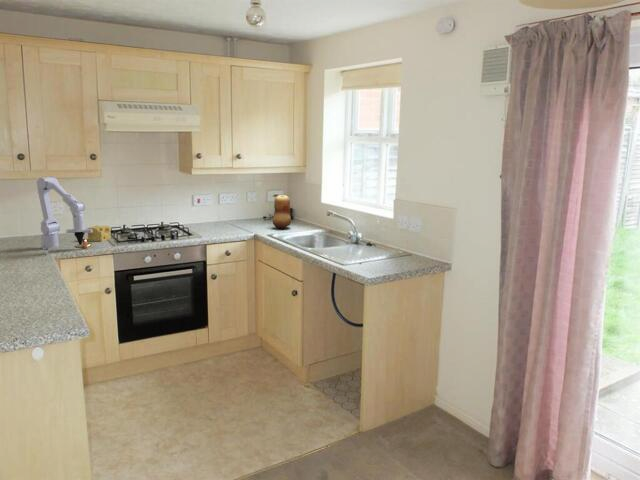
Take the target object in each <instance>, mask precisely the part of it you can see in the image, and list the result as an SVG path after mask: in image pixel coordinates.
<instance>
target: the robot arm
mask: <svg viewBox="0 0 640 480" xmlns="http://www.w3.org/2000/svg"><path fill="white" fill-rule="evenodd" d="M36 186H37V195H38V198H39V203H40V207H41V212H42V217H43V220H42V221H41V222H40V231H41V235H40V236H41V247H42V251H43V250H49V248H56V247H59V246H60V245H59V235H58V234H59V231H60V230H61V225H60V224H59V222H58V220H57V219H56V218H55V217H54V214H53V209H52V204H51V200H50V199H51V198H50V195H49V194H50V193H49V192H50V191H51V190H53V191H54V192H56V194H58V195H59V196H61V197H62V201H63V202H64V203H65V204H66V205H67V206H68V207H69V211H70V212H71V215H72V221H73V228H70V229H66V231H65V232H66V234H73V235H74V236H75V238H76V239H77V242H78V244H79V245H81V244H82V243H83V239H84V236H85V233H87V234H88V233H92V229H87V228H85V221H84V211H85V208H86V207H85V206H86V205H85V204H84V203H83V202H82V201H79V200H77V198H75V197H74V195H73V194H71V193H67V191H66V190H65V189H64V187H63V186H61V185H60V184H59V180H58V179H57V178H56V177H55V176H54V175H53V176H47V177H46V176H45V177H39V178H38V179H37V180H36Z"/></svg>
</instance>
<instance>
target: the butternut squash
mask: <svg viewBox="0 0 640 480" xmlns="http://www.w3.org/2000/svg"><path fill="white" fill-rule="evenodd" d="M290 203H291V199H290V197H288V195H285V194H284V195H281V194H280V195H277V196H276V197H275V199H274V203H273V204H274V207H273V208H274V214H273V217H272V224H273V226H274V227H275V228H276V229H277V228H278V229H286V228H287V227H290V225H291V223H292V217H291V215H290V213H291V212H290V210H291V204H290Z"/></svg>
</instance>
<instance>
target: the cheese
mask: <svg viewBox="0 0 640 480" xmlns="http://www.w3.org/2000/svg"><path fill="white" fill-rule="evenodd" d="M86 229H92V233H87V242H99V243H100V242H101V243H103V242H104V241H108V240H110V239H111V237H112V236H111V235H112V234H111V233H112V232H111V226H110V225H98V224H97V225H94V226H90V227H87V228H86Z"/></svg>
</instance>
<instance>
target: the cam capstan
mask: <svg viewBox="0 0 640 480" xmlns="http://www.w3.org/2000/svg"><path fill="white" fill-rule="evenodd" d="M92 244H93V243H92V242H88V239H87V238H83V239H82V244H81V245H79V243H76V244H75V246H76V248H83V250H86V249H88V248H89V247H92V246H93V245H92Z"/></svg>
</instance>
